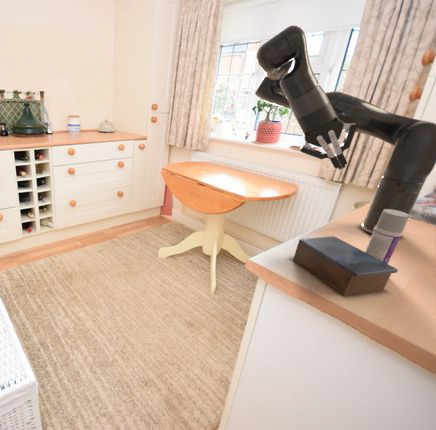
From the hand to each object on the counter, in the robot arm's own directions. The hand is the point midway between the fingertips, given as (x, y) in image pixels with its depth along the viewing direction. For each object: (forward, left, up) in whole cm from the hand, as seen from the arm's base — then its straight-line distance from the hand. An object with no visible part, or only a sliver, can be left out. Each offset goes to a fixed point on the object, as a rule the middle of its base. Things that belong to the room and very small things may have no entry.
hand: (342, 167), depth 75 cm
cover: (+16, +7, -17) cm, 24 cm away
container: (+6, +13, -22) cm, 26 cm away
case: (+16, +7, -22) cm, 28 cm away
